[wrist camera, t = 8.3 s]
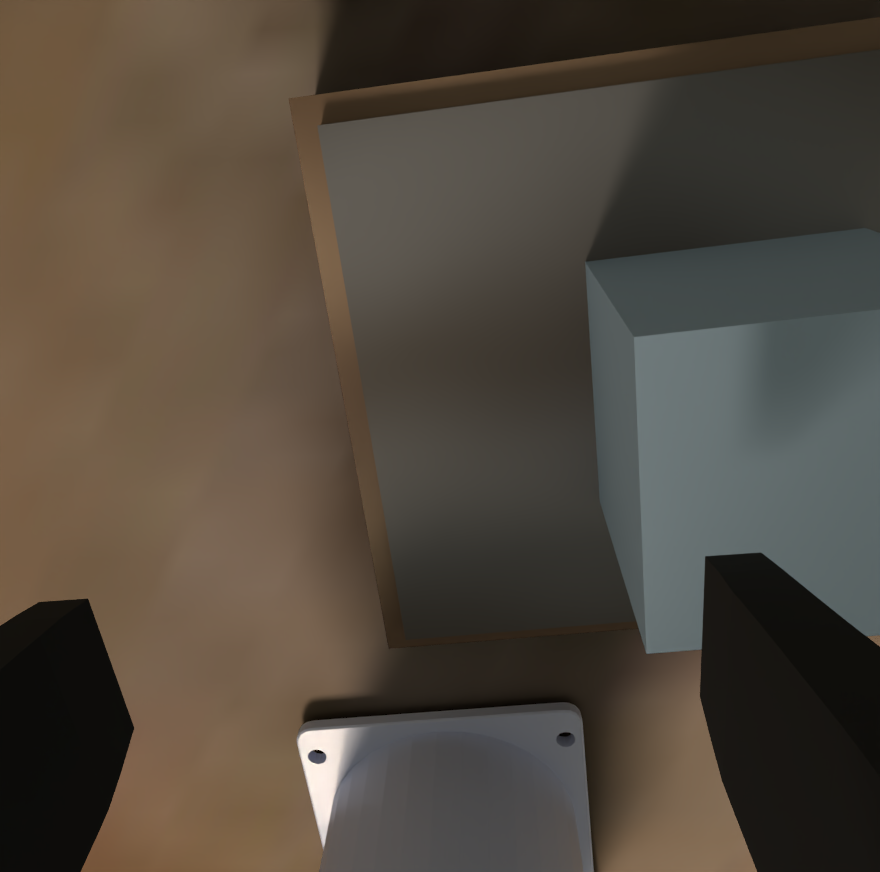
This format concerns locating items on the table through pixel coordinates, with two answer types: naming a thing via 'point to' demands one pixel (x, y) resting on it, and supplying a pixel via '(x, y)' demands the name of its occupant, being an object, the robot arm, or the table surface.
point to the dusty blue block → (740, 420)
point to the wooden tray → (545, 287)
